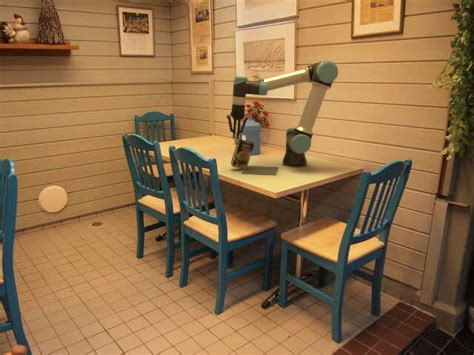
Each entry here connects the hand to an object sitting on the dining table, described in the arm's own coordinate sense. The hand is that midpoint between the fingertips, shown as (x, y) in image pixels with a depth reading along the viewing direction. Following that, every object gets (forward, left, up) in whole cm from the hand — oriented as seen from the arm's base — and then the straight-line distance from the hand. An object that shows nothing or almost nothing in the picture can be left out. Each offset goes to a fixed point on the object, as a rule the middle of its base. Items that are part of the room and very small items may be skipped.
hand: (235, 144), depth 226 cm
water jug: (-2, -48, -16) cm, 50 cm away
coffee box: (-2, 0, -14) cm, 14 cm away
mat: (-15, 0, -15) cm, 22 cm away
